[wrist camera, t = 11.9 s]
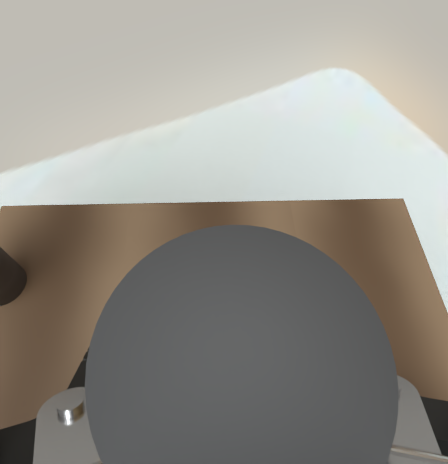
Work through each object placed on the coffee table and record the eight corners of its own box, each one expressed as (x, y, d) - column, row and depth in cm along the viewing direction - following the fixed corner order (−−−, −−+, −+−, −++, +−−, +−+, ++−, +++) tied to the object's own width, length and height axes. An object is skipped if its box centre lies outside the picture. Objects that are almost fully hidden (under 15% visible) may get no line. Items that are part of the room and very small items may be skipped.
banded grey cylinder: (155, 488, 14) (47, 595, 4) (159, 350, 16) (98, 224, 7) (286, 476, 14) (461, 548, 5) (269, 344, 17) (355, 217, 7)
